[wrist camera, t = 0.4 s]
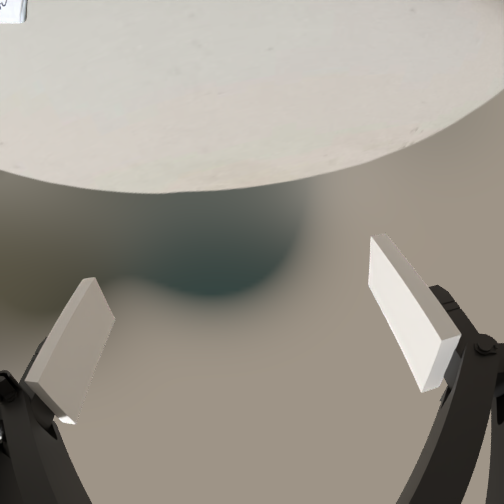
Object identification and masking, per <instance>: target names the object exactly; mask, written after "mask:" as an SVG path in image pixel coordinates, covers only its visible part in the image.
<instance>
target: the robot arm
mask: <svg viewBox="0 0 504 504" xmlns="http://www.w3.org/2000/svg"><path fill="white" fill-rule="evenodd" d="M368 286H369V287H370V289H371V291H372V293H373V295H374V297H375V299H376V300H377V302H378V304H379V306H380V308H381V310H382V312H383V314H384V316H385V318H386V320H387V322H388V324H389V326H390V328H391V330H392V332H393V333H394V335H395V338H396V339H397V342H398V344H399V346H400V348H401V350H402V352H403V354H404V356H405V358H406V360H407V362H408V364H409V366H410V369H411V371H412V373H413V375H414V377H415V379H416V382H417V384H418V386H419V389H420V391H421V392H425V391H428V390H431V389H434V388H437V387H439V386H440V383H441V382H442V380H443V377H444V378H445V380H446V382H447V384H448V386H447V388H446V390H445V392H444V394H443V396H442V398H441V399H440V401H442V402H441V405H440V407H439V410H438V413H437V416H436V418H435V421H434V424H433V426H432V429H431V431H430V434H429V436H428V439H427V441H426V444H425V446H424V448H423V450H422V453H421V455H420V457H419V460H418V461H417V464H416V466H415V468H414V470H413V472H412V474H411V476H410V478H409V480H408V482H407V484H406V486H405V488H404V490H403V492H402V493H401V495H400V497H399V499H398V501H397V503H396V504H461V502H462V500H463V497H464V495H465V492H466V490H467V487H468V485H469V482H470V479H471V477H472V473H473V471H474V468H475V465H476V462H477V459H478V456H479V452H480V449H481V445H482V442H483V438H484V435H485V431H486V427H487V423H488V419H489V414H490V410H491V415H492V416H491V419H492V420H491V428H492V429H491V431H492V432H491V456H490V470H489V481H488V489H487V498H486V504H504V343H497V341H495V340H494V339H493V338H492V337H490V336H488V335H486V334H479V333H478V332H477V330H476V329H475V327H474V326H473V324H472V323H471V322H470V320H469V319H468V318H467V316H466V315H465V313H464V312H463V311H462V309H460V307H459V305H458V304H457V303H456V302H455V300H454V299H453V298H452V296H451V295H450V294H449V292H448V291H446V290H445V289H443V288H442V287H440V286H439V285H436V286H431V287H428V286H427V285H426V283H425V282H424V281H423V279H422V278H421V277H420V275H419V274H418V273H417V271H416V270H415V269H414V268H413V266H412V265H411V264H410V262H409V261H408V260H407V259H406V257H405V256H404V255H403V254H402V252H401V251H400V250H399V249H398V248H397V246H396V245H395V244H394V243H393V241H392V240H391V239H390V238H389V237H388V235H387V234H380V235H373V236H371V244H370V266H369V283H368ZM114 322H115V318H114V316H113V314H112V312H111V310H110V308H109V306H108V304H107V302H106V300H105V297H104V295H103V293H102V291H101V289H100V287H99V285H98V283H97V281H96V278H95V277H93V278H86V279H83V280H82V281H81V283H80V284H79V286H78V287H77V289H76V290H75V292H74V294H73V295H72V297H71V298H70V300H69V302H68V303H67V305H66V306H65V308H64V310H63V312H62V313H61V315H60V316H59V318H58V320H57V322H56V323H55V325H54V327H53V328H52V330H51V332H50V334H49V335H48V337H46V338H45V339H44V340H43V341H42V342H41V343H40V344H39V346H38V348H37V350H36V352H35V355H33V357H32V360H31V361H30V363H29V365H28V367H27V369H26V371H25V373H24V374H23V376H22V378H21V380H20V382H19V383H18V382H17V381H16V380H15V379H14V377H13V376H12V375H11V374H10V372H8V371H6V370H3V371H0V504H92V503H91V501H90V499H89V497H88V495H87V493H86V491H85V489H84V487H83V485H82V483H81V481H80V479H79V477H78V475H77V473H76V471H75V468H74V466H73V464H72V462H71V460H70V458H69V455H68V453H67V450H66V448H65V445H64V443H63V440H62V438H61V435H60V432H59V430H58V427H57V425H56V423H55V422H54V421H53V418H54V415H56V416H57V417H58V418H59V419H60V420H61V421H62V422H63V423H70V424H76V423H77V420H78V417H79V414H80V411H81V408H82V405H83V402H84V399H85V397H86V394H87V391H88V388H89V385H90V383H91V380H92V377H93V374H94V372H95V369H96V367H97V364H98V361H99V359H100V356H101V354H102V351H103V349H104V346H105V344H106V341H107V339H108V336H109V334H110V331H111V329H112V327H113V324H114Z"/></svg>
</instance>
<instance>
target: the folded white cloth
mask: <svg viewBox="0 0 504 504" xmlns="http://www.w3.org/2000/svg"><path fill="white" fill-rule="evenodd" d="M26 4H27V0H0V23H23V22H25V16H26Z"/></svg>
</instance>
